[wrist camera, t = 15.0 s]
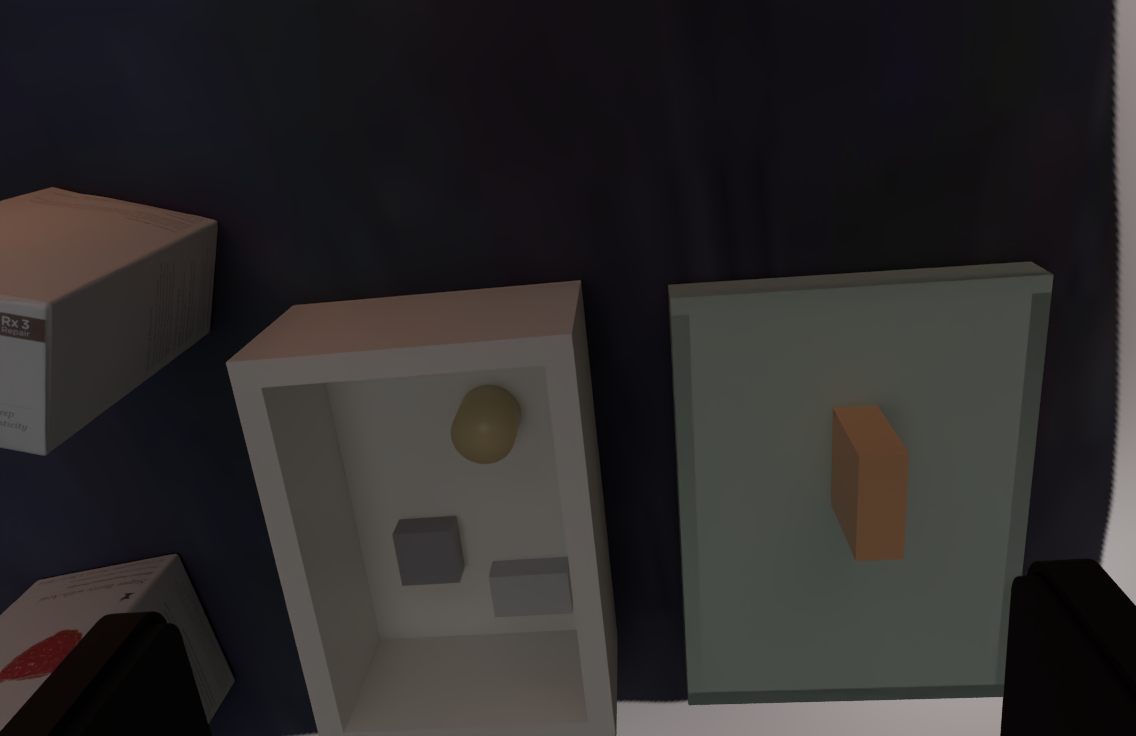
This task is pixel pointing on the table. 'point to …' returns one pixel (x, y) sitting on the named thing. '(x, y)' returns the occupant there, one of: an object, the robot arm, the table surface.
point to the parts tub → (437, 510)
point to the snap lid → (854, 479)
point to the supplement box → (77, 601)
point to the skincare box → (92, 306)
